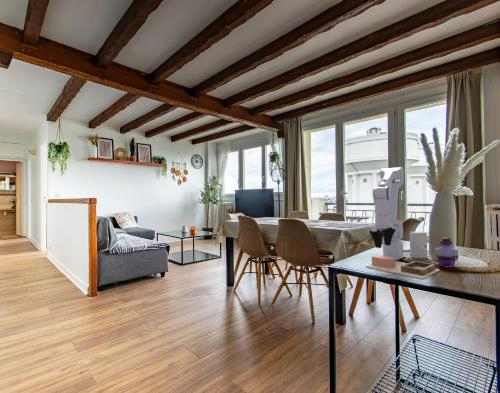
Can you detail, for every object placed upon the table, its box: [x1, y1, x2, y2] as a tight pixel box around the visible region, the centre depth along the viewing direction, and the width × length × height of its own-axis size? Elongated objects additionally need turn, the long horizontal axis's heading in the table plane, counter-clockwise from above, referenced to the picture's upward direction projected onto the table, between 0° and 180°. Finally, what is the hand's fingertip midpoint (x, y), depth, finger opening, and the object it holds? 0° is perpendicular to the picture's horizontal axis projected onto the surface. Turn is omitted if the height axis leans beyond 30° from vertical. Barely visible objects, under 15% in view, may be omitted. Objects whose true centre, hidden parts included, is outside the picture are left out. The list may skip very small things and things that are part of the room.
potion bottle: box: [434, 236, 459, 267], centre depth 115 cm, size 9×9×12 cm
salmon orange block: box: [371, 254, 397, 268], centre depth 118 cm, size 4×8×4 cm, turn 37°
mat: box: [365, 261, 440, 280], centre depth 114 cm, size 16×22×1 cm
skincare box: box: [409, 230, 428, 259], centre depth 131 cm, size 6×4×12 cm
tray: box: [401, 260, 437, 276], centre depth 109 cm, size 12×8×2 cm, turn 127°
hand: (383, 246), depth 118 cm, fingers open, 7 cm apart
